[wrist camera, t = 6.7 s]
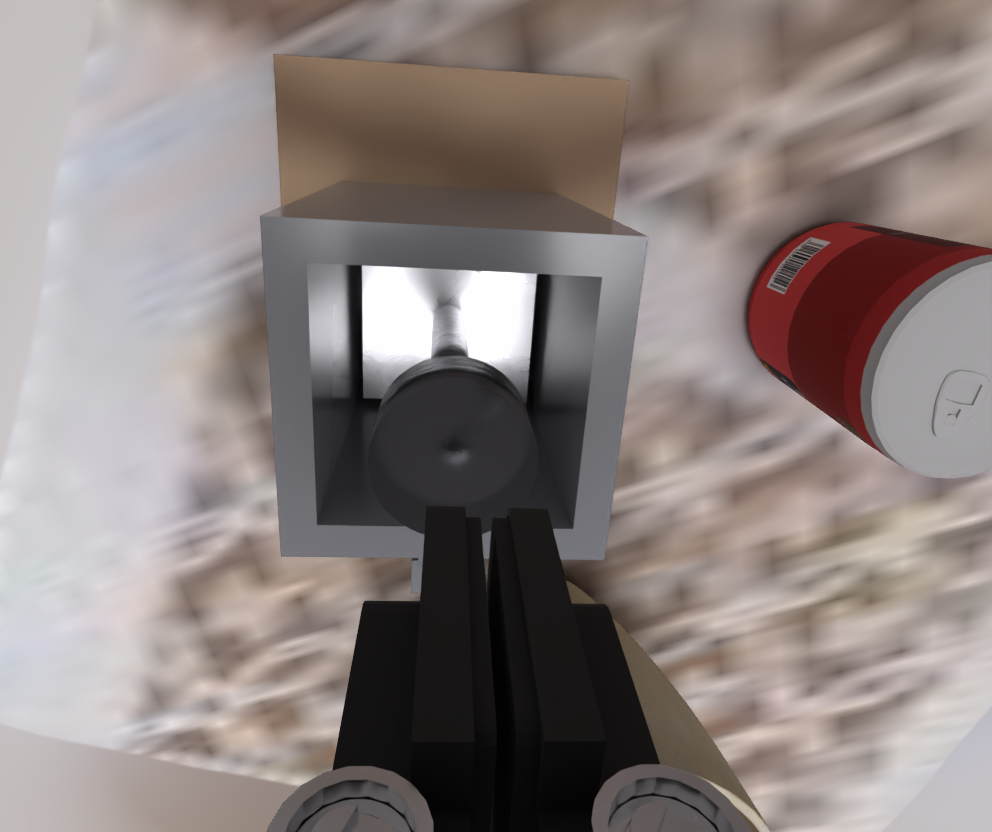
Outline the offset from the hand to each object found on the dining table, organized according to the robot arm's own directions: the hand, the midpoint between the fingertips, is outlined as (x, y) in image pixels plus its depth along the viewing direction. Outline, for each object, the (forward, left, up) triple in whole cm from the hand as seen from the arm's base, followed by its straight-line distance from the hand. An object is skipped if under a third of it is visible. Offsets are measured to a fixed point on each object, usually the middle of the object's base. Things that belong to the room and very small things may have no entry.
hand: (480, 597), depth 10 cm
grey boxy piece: (+2, 0, -23) cm, 23 cm away
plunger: (0, 0, -18) cm, 18 cm away
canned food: (0, +18, -24) cm, 30 cm away
